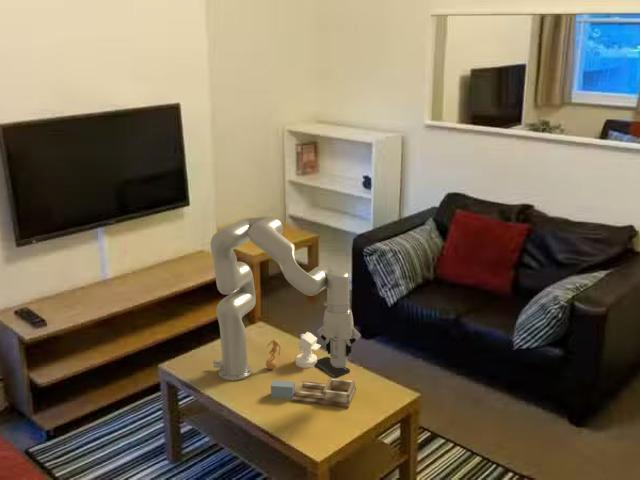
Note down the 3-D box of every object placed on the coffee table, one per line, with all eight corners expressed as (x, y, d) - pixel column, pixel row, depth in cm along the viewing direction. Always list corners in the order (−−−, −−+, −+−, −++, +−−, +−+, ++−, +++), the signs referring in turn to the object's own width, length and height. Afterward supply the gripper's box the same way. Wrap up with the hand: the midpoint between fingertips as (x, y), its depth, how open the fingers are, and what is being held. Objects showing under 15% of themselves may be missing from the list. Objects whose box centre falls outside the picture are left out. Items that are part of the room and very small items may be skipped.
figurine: (260, 366, 277) (259, 338, 273) (273, 361, 280) (272, 334, 276) (272, 374, 270) (271, 346, 267) (285, 369, 274) (284, 341, 270)
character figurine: (301, 355, 284) (301, 328, 281) (323, 360, 281) (322, 332, 277) (291, 365, 277) (291, 337, 273) (313, 370, 273) (313, 342, 269)
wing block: (271, 398, 254) (270, 385, 253) (273, 392, 258) (273, 380, 256) (293, 399, 253) (292, 387, 251) (295, 394, 257) (294, 381, 255)
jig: (292, 401, 252) (291, 390, 250) (302, 383, 263) (301, 372, 262) (348, 408, 247) (348, 396, 245) (355, 389, 259) (355, 378, 257)
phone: (327, 356, 282) (351, 370, 271) (327, 358, 283) (351, 373, 271) (311, 362, 278) (335, 376, 266) (311, 364, 278) (335, 379, 267)
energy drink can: (349, 367, 248) (349, 328, 243) (333, 369, 246) (333, 330, 241) (344, 359, 253) (344, 321, 248) (328, 361, 252) (327, 323, 247)
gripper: (311, 308, 241) (312, 355, 247) (361, 312, 237) (360, 360, 243) (316, 300, 248) (317, 346, 254) (365, 304, 244) (365, 351, 250)
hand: (338, 352), depth 248 cm, fingers closed on energy drink can, 6 cm apart
